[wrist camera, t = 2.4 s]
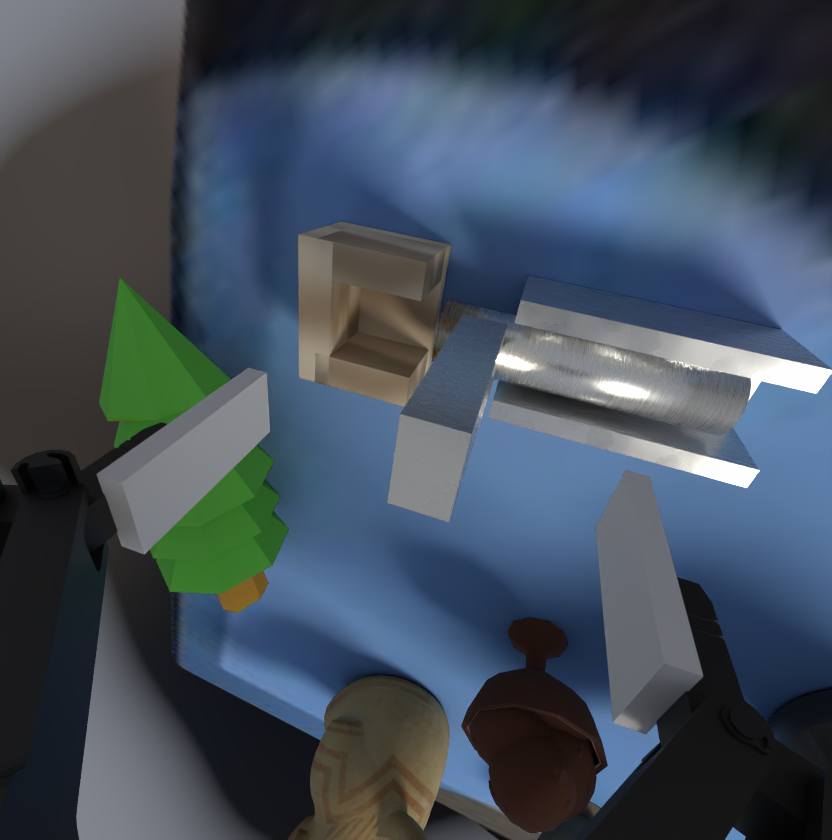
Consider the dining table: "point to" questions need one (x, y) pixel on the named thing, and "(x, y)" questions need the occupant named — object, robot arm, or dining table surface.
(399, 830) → the ceramic vessel
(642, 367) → the shiny silver metal piece
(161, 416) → the decorative tree
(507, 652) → the dining table surface
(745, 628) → the dining table surface
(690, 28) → the dining table surface
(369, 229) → the socket
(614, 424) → the channel
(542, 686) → the ice cream bowl
